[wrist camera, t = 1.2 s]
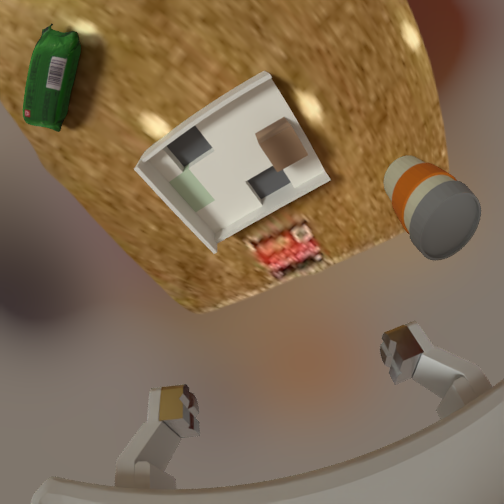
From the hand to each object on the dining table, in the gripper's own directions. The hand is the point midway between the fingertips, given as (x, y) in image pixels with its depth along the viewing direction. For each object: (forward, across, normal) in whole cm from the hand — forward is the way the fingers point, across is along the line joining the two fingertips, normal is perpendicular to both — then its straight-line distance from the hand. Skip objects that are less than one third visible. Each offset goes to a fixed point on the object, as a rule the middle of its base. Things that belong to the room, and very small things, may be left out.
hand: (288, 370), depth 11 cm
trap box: (+36, -1, 0) cm, 36 cm away
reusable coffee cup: (+35, -29, +9) cm, 47 cm away
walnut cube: (+32, -7, -2) cm, 33 cm away
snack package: (+34, +21, -21) cm, 45 cm away
